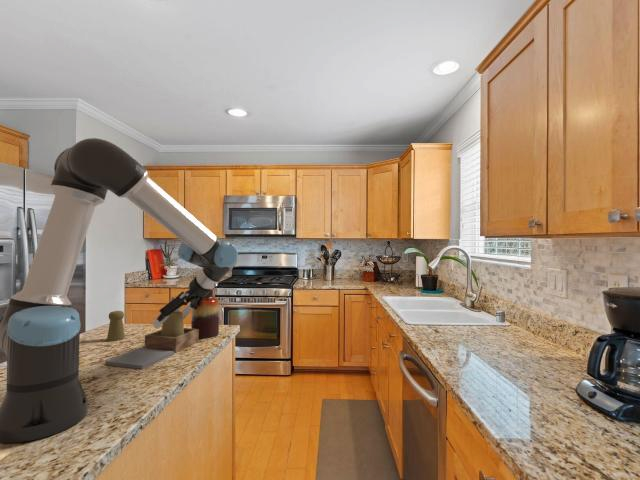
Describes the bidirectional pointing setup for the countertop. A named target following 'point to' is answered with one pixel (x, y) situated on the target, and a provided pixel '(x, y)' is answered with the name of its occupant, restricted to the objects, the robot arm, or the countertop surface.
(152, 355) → the slate mat
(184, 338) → the bottle holder
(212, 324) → the vase
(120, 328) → the cork
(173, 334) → the squeeze bottle
